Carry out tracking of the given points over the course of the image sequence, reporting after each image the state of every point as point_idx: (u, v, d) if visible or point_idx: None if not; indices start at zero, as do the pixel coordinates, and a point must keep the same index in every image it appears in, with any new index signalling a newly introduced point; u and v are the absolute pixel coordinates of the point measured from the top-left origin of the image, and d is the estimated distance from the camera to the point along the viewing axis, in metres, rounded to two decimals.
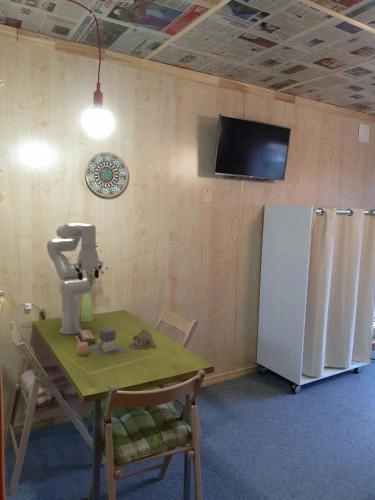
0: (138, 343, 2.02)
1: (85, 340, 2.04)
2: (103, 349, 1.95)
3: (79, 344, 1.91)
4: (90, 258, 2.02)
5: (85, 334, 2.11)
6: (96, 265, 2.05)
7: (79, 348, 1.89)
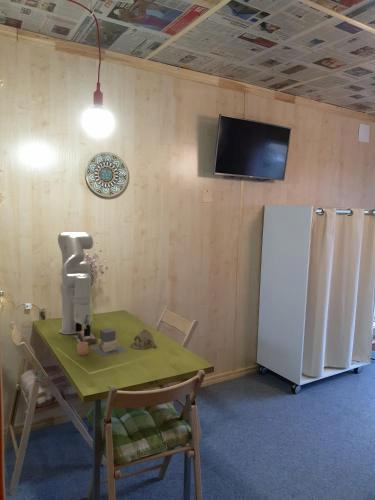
0: (139, 343, 2.02)
1: (86, 340, 2.04)
2: (103, 349, 1.95)
3: (79, 344, 1.91)
4: None
5: None
6: None
7: (79, 348, 1.89)
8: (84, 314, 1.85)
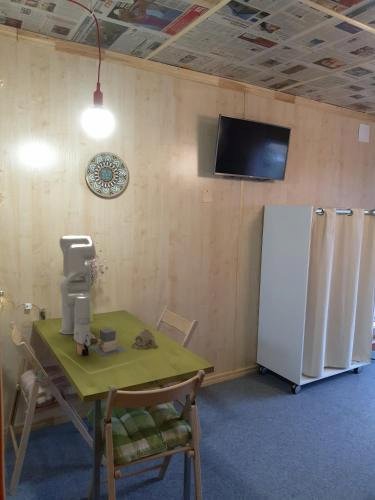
0: (140, 343, 2.02)
1: None
2: (103, 349, 1.95)
3: (79, 344, 1.91)
4: None
5: None
6: None
7: (79, 348, 1.89)
8: (84, 334, 1.86)
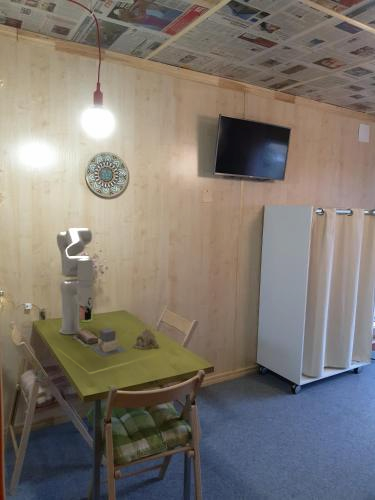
0: (142, 343, 2.02)
1: (89, 340, 2.05)
2: (103, 349, 1.95)
3: (82, 307, 1.89)
4: None
5: (86, 334, 2.11)
6: None
7: (81, 311, 1.88)
8: (86, 296, 1.85)
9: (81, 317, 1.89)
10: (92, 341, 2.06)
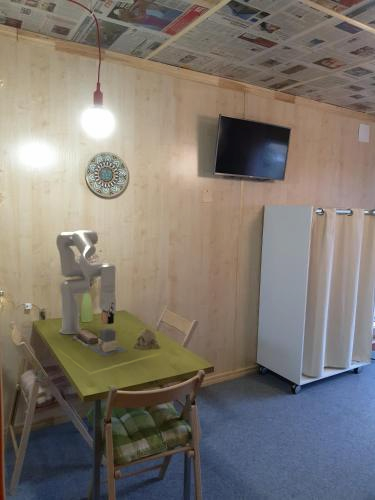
0: (143, 343, 2.02)
1: (90, 340, 2.05)
2: (103, 349, 1.95)
3: (104, 312, 1.96)
4: None
5: (86, 334, 2.11)
6: None
7: (105, 315, 1.95)
8: (110, 301, 1.92)
9: (104, 321, 1.95)
10: (93, 341, 2.06)
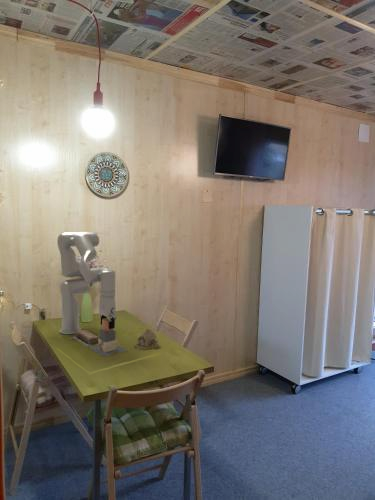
0: (143, 343, 2.02)
1: (91, 340, 2.05)
2: (103, 349, 1.95)
3: (104, 319, 1.96)
4: None
5: (87, 334, 2.11)
6: None
7: (104, 323, 1.95)
8: (110, 307, 1.92)
9: (104, 329, 1.96)
10: (93, 341, 2.07)
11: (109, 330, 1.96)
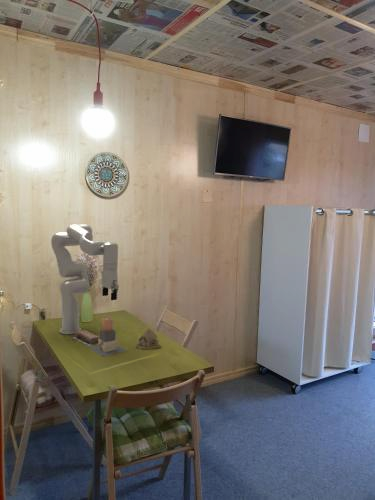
0: (145, 343, 2.02)
1: (92, 339, 2.05)
2: (103, 349, 1.95)
3: (104, 319, 1.96)
4: None
5: (87, 334, 2.11)
6: None
7: (104, 323, 1.95)
8: (111, 279, 1.95)
9: (104, 329, 1.96)
10: (95, 340, 2.07)
11: (109, 330, 1.96)
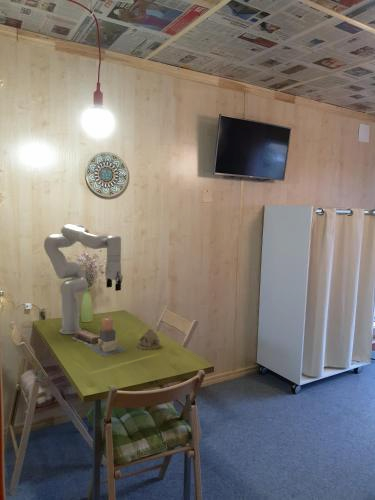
0: (146, 343, 2.02)
1: (93, 339, 2.06)
2: (103, 349, 1.95)
3: (104, 319, 1.96)
4: None
5: (87, 334, 2.11)
6: None
7: (104, 323, 1.95)
8: (116, 270, 2.03)
9: (104, 329, 1.96)
10: (95, 340, 2.07)
11: (109, 330, 1.96)
